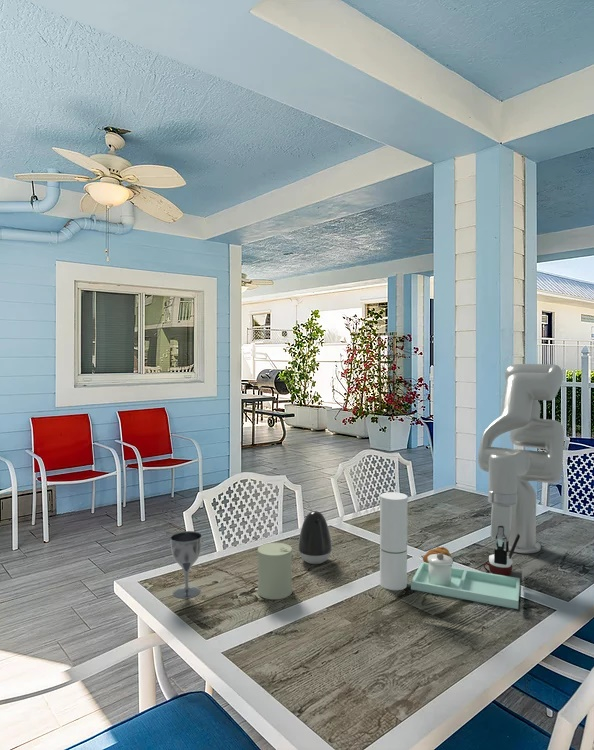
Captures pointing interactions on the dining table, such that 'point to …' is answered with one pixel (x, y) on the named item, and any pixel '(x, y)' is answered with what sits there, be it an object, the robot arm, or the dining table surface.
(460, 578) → the tray
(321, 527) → the black egg-shaped piece
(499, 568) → the cocoa
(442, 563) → the sugar pot
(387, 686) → the dining table surface
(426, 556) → the pastry
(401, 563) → the cylindrical container
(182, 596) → the wine glass
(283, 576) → the can
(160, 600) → the dining table surface
